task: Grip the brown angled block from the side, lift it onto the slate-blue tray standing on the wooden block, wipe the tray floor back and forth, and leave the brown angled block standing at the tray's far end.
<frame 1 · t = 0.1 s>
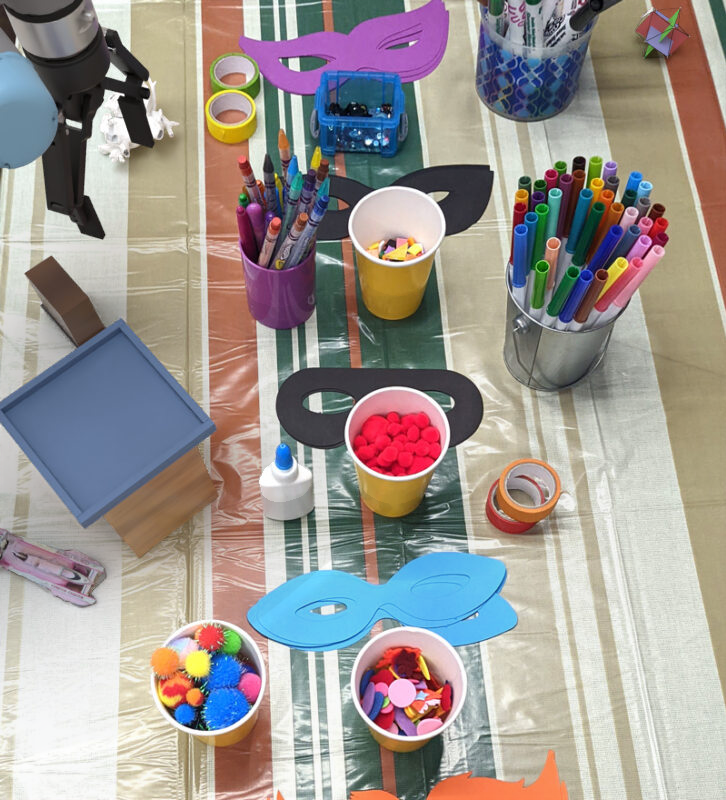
hand: (118, 187, 101), 19 cm above the table, tool pointing down, fingers open, 13 cm apart
heart: (137, 140, 128), on the table
brown angled block: (80, 328, 116), on the table
tray: (106, 422, 89), resting on wooden block
geometric puzzle: (654, 52, 134), on the table
pink toy racer: (51, 571, 105), on the table
wooden block: (150, 491, 108), on the table
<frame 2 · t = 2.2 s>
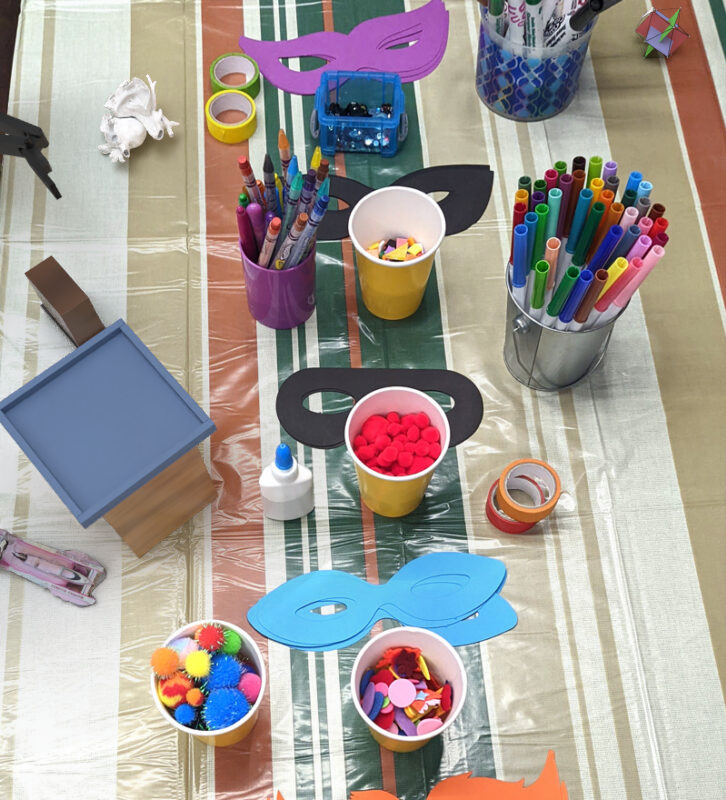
hand: (7, 222, 105), 15 cm above the table, tool horizontal, fingers open, 13 cm apart
nothing on the table moved.
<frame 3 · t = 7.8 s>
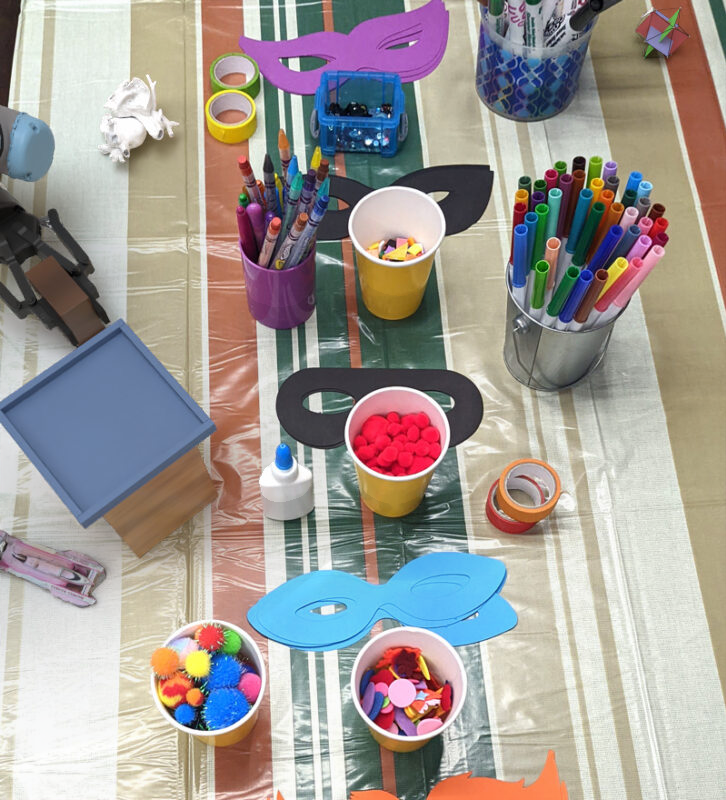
hand: (89, 328, 108), 7 cm above the table, tool horizontal, fingers closed on brown angled block, 4 cm apart
brown angled block: (80, 328, 116), on the table, touching gripper
everything else where it was.
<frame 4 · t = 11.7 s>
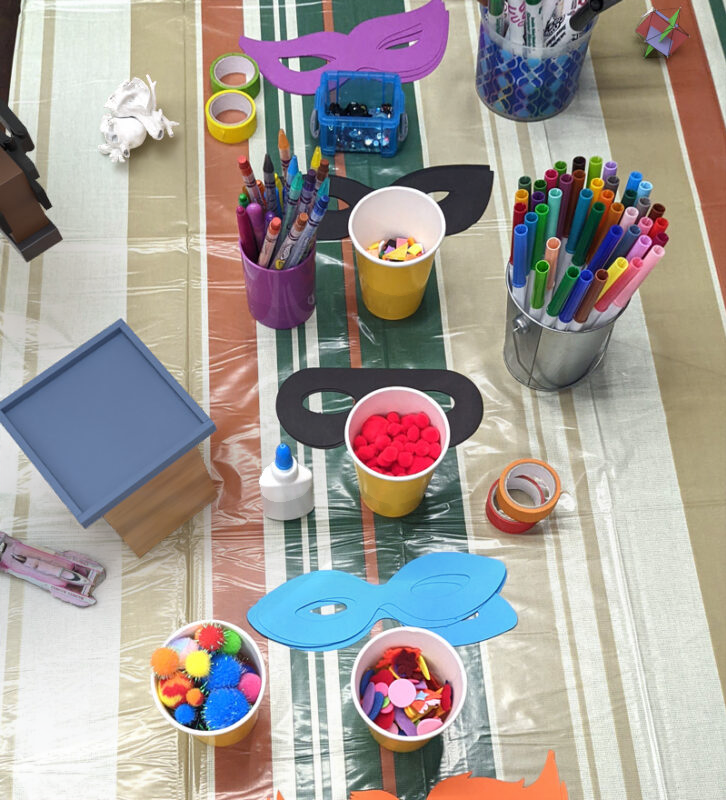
hand: (24, 212, 88), 29 cm above the table, tool horizontal, fingers closed on brown angled block, 4 cm apart
brown angled block: (19, 222, 96), point 22 cm above the table, touching gripper
everything else where it was.
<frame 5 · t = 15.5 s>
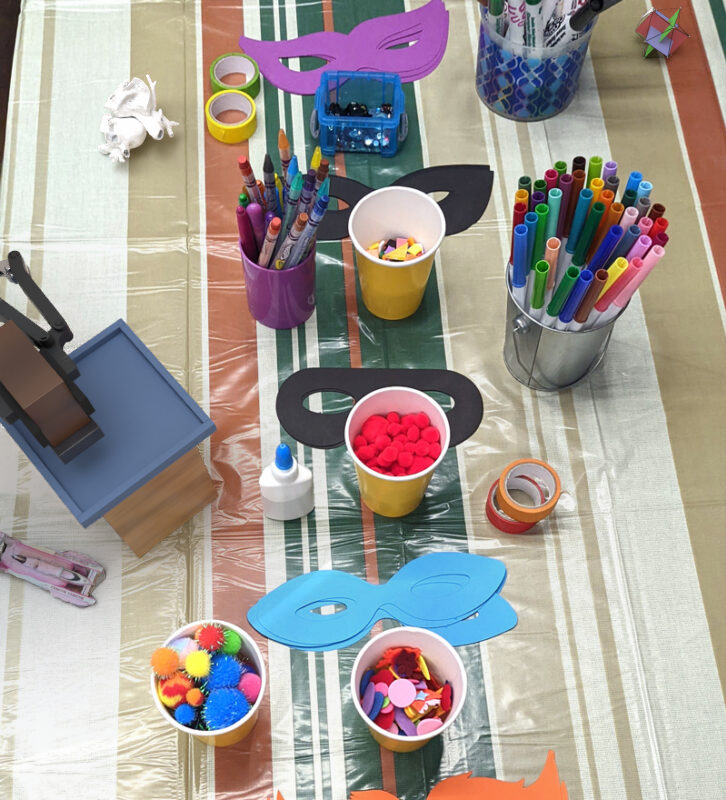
hand: (65, 422, 76), 32 cm above the table, tool horizontal, fingers closed on brown angled block, 4 cm apart
brown angled block: (55, 414, 84), point 25 cm above the table, touching gripper
everything else where it was.
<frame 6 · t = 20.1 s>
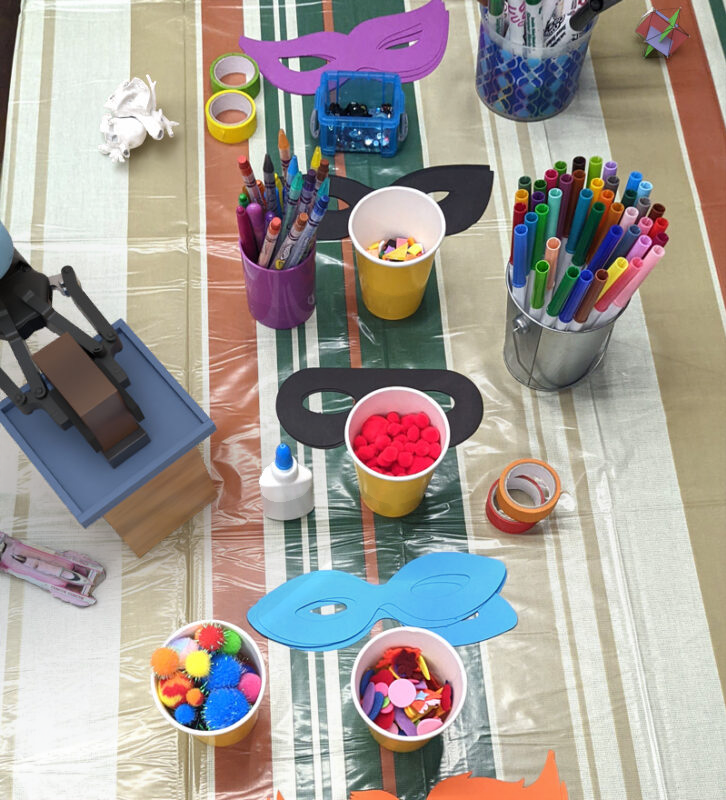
hand: (117, 429, 81), 27 cm above the table, tool horizontal, fingers closed on brown angled block, 4 cm apart
brown angled block: (103, 420, 89), point 21 cm above the table, touching gripper
everything else where it was.
when the fingers open (27 cm above the table, at t = 23.6 s): brown angled block stays where it is, resting on tray.
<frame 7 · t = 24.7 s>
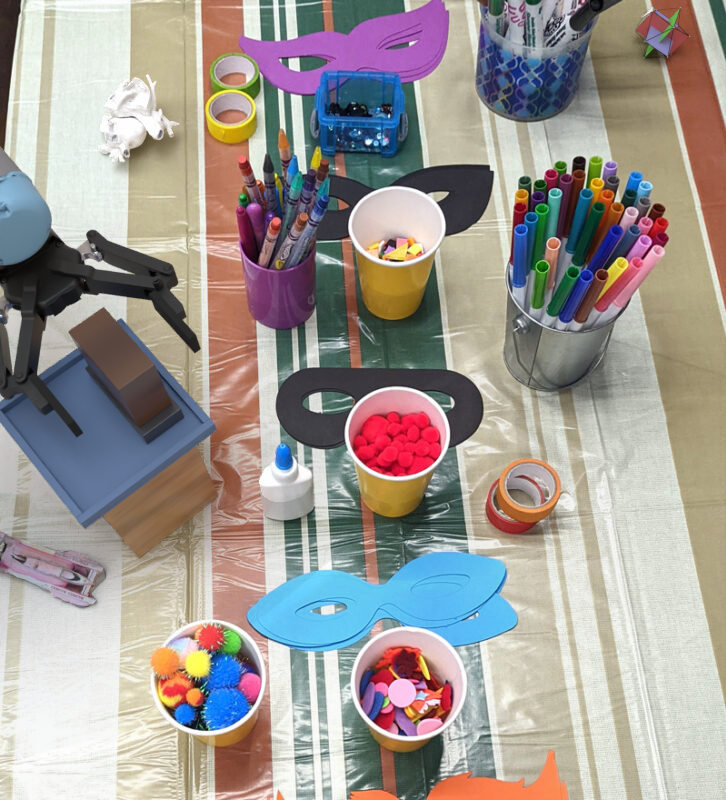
hand: (137, 386, 82), 27 cm above the table, tool horizontal, fingers open, 13 cm apart
brown angled block: (137, 397, 90), point 21 cm above the table, touching tray
everything else where it was.
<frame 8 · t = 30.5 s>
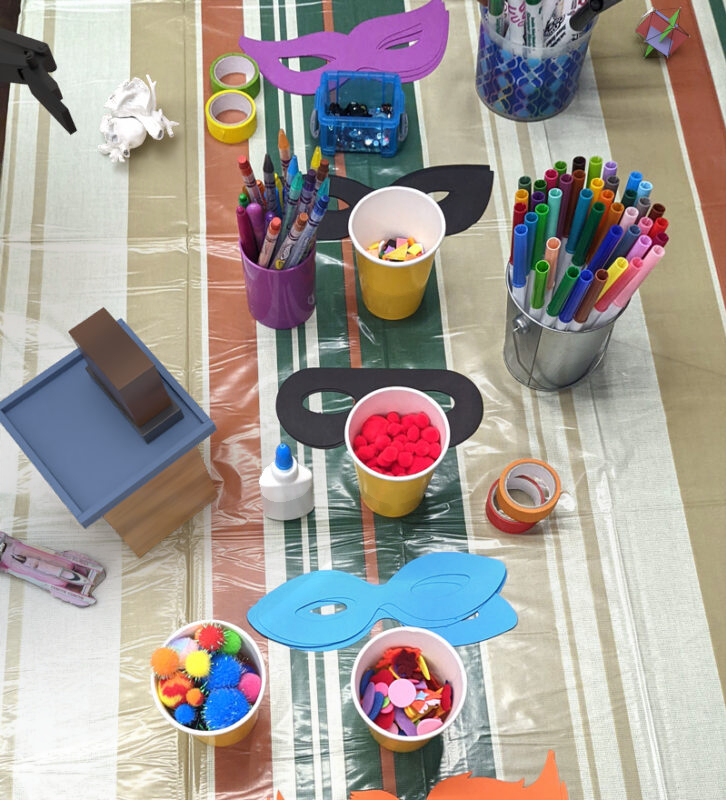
hand: (5, 161, 79), 38 cm above the table, tool horizontal, fingers open, 13 cm apart
nothing on the table moved.
at the end: brown angled block 0.0 cm from the target spot on the tray, point 0.6 cm above the tray's base; brown angled block tilted 0°; the gripper is holding nothing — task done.
